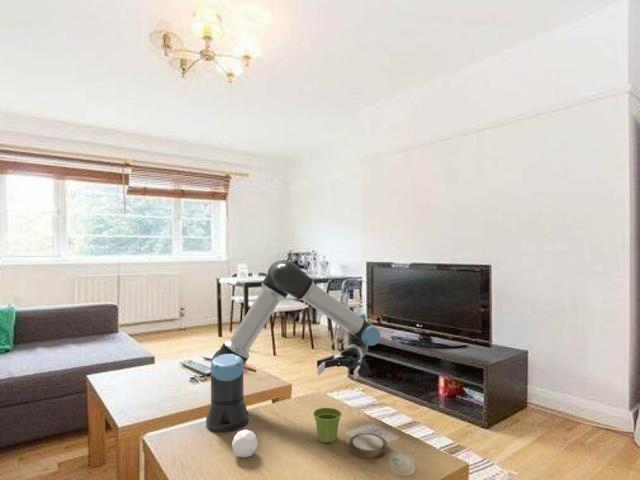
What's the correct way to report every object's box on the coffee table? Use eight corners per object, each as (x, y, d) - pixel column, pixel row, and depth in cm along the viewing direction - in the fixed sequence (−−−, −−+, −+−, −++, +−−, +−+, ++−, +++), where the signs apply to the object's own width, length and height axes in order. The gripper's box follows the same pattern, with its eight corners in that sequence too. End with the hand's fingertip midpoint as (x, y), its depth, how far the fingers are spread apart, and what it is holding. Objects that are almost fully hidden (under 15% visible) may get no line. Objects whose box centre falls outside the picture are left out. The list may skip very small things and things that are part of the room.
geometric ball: (249, 460, 128) (263, 436, 131) (245, 465, 121) (260, 439, 123) (229, 447, 130) (243, 423, 132) (224, 450, 122) (240, 425, 125)
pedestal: (374, 463, 122) (374, 456, 122) (341, 450, 129) (341, 443, 129) (393, 446, 131) (393, 440, 131) (362, 435, 139) (362, 429, 139)
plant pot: (325, 429, 143) (325, 405, 143) (346, 437, 137) (346, 412, 137) (307, 439, 136) (307, 414, 136) (329, 449, 130) (329, 422, 130)
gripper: (382, 368, 162) (370, 387, 142) (322, 362, 170) (304, 379, 150) (381, 349, 162) (370, 366, 142) (322, 344, 170) (303, 359, 150)
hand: (336, 373), depth 146 cm, fingers open, 13 cm apart
